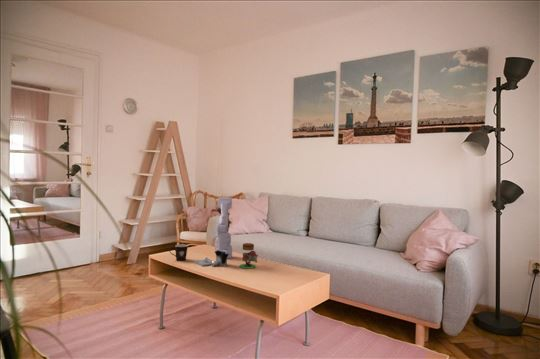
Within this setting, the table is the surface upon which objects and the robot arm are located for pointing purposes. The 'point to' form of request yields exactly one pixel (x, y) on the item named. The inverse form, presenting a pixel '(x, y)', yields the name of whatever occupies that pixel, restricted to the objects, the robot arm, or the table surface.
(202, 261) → the panel
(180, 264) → the table surface
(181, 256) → the coffee mug
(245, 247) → the miniature tree model
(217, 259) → the elbow
